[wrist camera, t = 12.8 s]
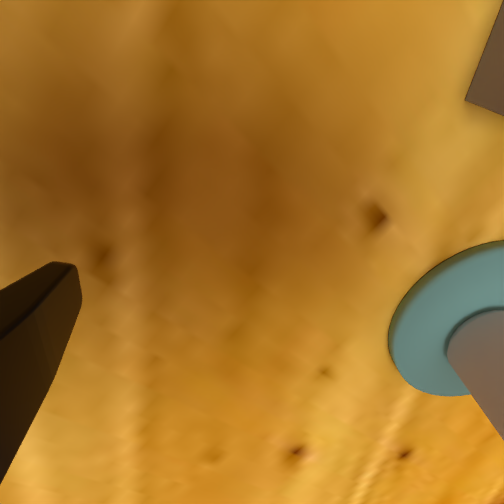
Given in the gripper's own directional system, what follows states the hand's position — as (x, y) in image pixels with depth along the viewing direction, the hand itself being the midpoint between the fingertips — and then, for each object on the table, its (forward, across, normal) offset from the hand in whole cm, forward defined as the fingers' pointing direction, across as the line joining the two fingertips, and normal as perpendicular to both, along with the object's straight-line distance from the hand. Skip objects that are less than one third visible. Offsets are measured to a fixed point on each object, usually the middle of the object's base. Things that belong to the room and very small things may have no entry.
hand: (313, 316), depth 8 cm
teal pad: (+13, -13, +12) cm, 22 cm away
